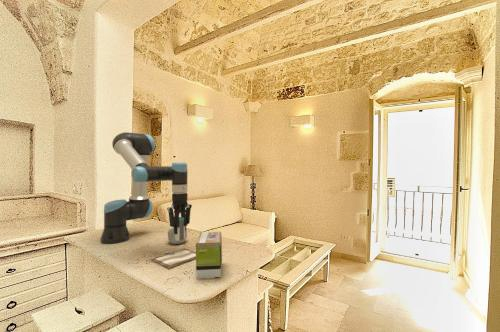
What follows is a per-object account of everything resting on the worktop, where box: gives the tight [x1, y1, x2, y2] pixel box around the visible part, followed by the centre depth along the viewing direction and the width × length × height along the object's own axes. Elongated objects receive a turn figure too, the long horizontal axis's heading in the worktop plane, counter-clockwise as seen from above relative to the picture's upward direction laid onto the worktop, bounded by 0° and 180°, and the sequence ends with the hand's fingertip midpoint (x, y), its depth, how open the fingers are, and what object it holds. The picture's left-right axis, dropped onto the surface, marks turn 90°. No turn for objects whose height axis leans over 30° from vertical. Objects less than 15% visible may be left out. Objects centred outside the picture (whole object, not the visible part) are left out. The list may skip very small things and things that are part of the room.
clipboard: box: [150, 247, 196, 270], centre depth 115 cm, size 16×19×1 cm
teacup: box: [167, 227, 188, 245], centre depth 140 cm, size 14×11×8 cm
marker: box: [178, 216, 184, 242], centre depth 120 cm, size 3×3×12 cm
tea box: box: [195, 231, 223, 280], centre depth 102 cm, size 15×10×15 cm
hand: (180, 239), depth 120 cm, fingers closed on marker, 3 cm apart
